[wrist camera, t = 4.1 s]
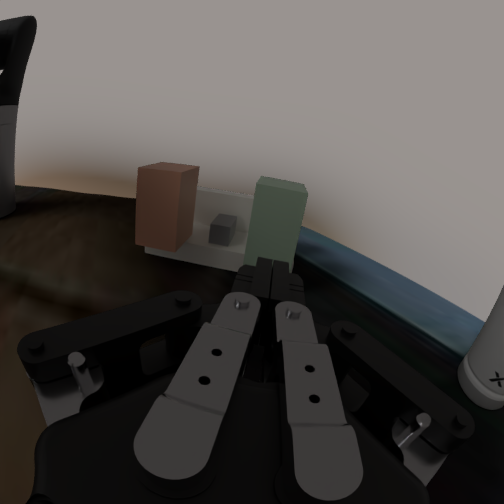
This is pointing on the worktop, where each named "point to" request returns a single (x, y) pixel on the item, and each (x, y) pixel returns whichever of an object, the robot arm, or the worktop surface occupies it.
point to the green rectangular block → (275, 220)
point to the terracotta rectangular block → (165, 205)
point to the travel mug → (486, 362)
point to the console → (216, 230)
